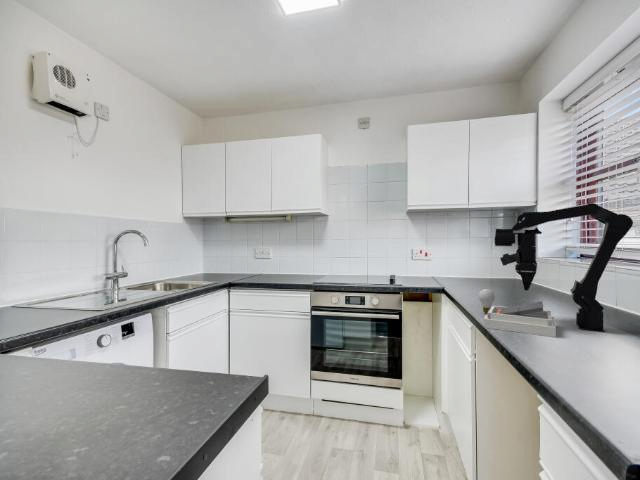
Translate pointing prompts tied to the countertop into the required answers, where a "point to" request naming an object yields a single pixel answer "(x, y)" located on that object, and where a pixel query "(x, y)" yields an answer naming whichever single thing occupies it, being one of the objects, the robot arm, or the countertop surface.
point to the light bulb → (486, 299)
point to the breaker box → (521, 322)
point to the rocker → (522, 309)
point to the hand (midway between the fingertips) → (526, 288)
